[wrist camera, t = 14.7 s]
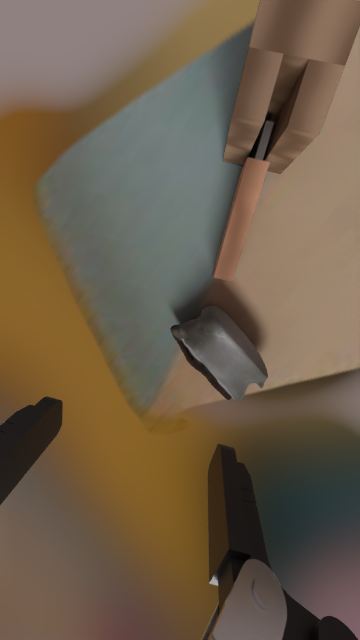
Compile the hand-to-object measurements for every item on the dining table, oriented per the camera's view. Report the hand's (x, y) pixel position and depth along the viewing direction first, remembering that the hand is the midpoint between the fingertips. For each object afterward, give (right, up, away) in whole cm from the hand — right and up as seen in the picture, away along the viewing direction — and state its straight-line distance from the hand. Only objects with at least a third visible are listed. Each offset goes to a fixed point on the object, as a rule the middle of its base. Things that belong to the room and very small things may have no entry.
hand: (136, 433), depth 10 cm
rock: (+10, 0, +31) cm, 33 cm away
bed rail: (+12, +23, +23) cm, 34 cm away
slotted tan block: (+14, +33, +19) cm, 41 cm away
